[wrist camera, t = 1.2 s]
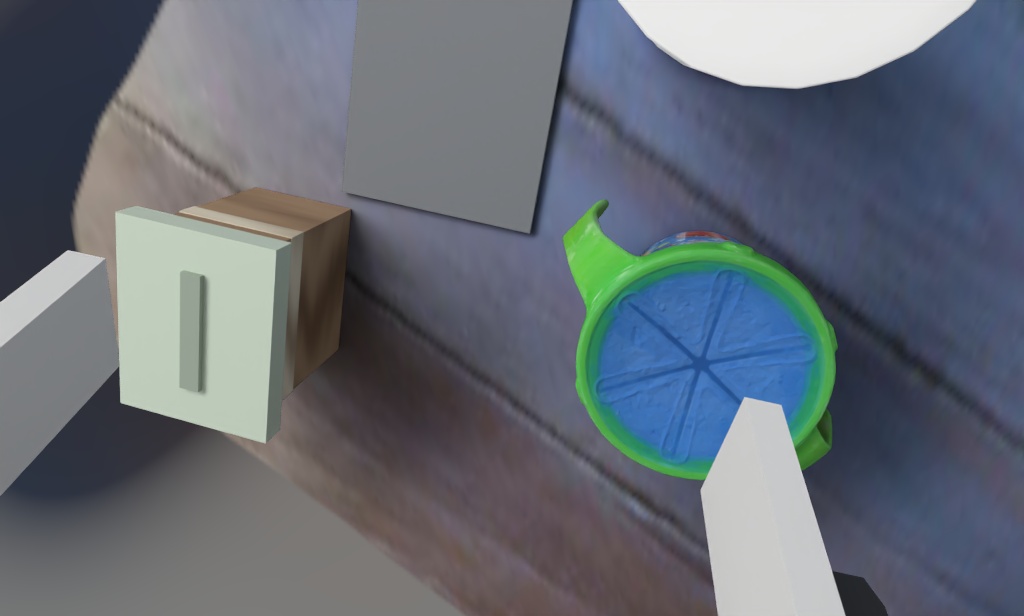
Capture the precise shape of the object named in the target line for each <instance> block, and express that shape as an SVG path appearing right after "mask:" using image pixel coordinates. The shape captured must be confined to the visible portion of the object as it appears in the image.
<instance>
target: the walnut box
mask: <svg viewBox="0 0 1024 616" xmlns="http://www.w3.org/2000/svg"><path fill="white" fill-rule="evenodd" d="M173 215H177V216H181V217H185V218H189V219H194V220H198V221H202V222H206V223H211V224H215V225H219V226H223V227H227V228H232V229H236V230H240V231H244V232H249V233H253V234H257V235H261V236H265V237H270V238H274V239H278V240H282V241H287V242H291V243H292V247H291V263H290V279H289V295H288V311H287V326H286V342H285V358H284V374H283V390H282V400H284V399H285V398H286V397H287V396H288V395H289V394H290V393H291V392H293V389H294V388H295V387H296V386H297V385H299V384H300V383H301V382H302V381H303V380H304V379H305V378H307V377H308V376H309V375H310V374H311V373H312V372H313V371H314V370H316V369H317V368H318V367H319V366H320V365H321V364H322V363H324V362H325V361H326V360H327V359H328V358H329V357H330V356H332V355H333V354H334V353H335V352H336V351H337V350H338V348H339V337H340V326H341V315H342V304H343V293H344V282H345V271H346V261H347V250H348V239H349V228H350V217H351V209H349V208H345V207H340V206H336V205H332V204H327V203H323V202H318V201H314V200H310V199H305V198H301V197H296V196H292V195H288V194H283V193H279V192H274V191H270V190H266V189H261V188H257V187H255V188H252V189H249V190H246V191H243V192H240V193H237V194H234V195H231V196H228V197H225V198H222V199H219V200H216V201H213V202H210V203H207V204H204V205H201V206H198V207H195V206H193V207H190V208H187V209H184V210H181V211H179V213H176V214H173Z"/></svg>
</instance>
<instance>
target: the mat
mask: <svg viewBox="0 0 1024 616" xmlns="http://www.w3.org/2000/svg"><path fill="white" fill-rule="evenodd" d="M573 1H574V0H358V8H357V19H356V31H355V42H354V54H353V66H352V77H351V89H350V100H349V112H348V124H347V135H346V147H345V158H344V170H343V182H342V192H346V193H351V194H355V195H360V196H364V197H369V198H373V199H378V200H382V201H387V202H391V203H395V204H400V205H404V206H409V207H413V208H418V209H422V210H427V211H431V212H436V213H440V214H445V215H449V216H453V217H458V218H462V219H467V220H471V221H476V222H480V223H485V224H489V225H494V226H498V227H503V228H507V229H511V230H516V231H520V232H525V233H529V234H530V232H531V229H532V224H533V218H534V213H535V207H536V202H537V196H538V191H539V186H540V180H541V175H542V169H543V164H544V159H545V153H546V148H547V142H548V137H549V131H550V126H551V121H552V115H553V110H554V104H555V99H556V93H557V88H558V83H559V77H560V72H561V66H562V61H563V56H564V50H565V45H566V39H567V34H568V28H569V23H570V18H571V12H572V7H573Z"/></svg>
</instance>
